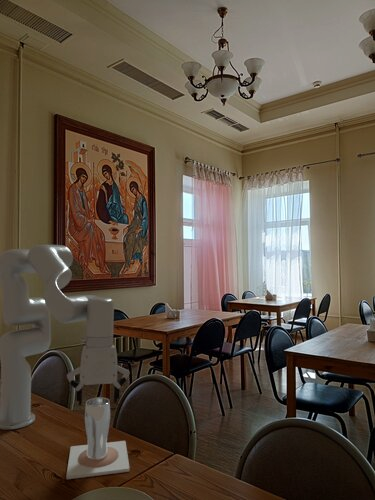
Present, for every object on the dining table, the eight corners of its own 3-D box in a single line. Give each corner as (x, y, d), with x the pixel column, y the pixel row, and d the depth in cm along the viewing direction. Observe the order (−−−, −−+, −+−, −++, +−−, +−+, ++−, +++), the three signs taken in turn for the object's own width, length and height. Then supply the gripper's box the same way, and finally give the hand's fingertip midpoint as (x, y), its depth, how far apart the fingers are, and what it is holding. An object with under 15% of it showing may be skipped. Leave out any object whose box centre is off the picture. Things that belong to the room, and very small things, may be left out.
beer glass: (79, 458, 104) (79, 403, 104) (95, 447, 110) (96, 395, 111) (99, 464, 101) (99, 407, 101) (114, 452, 107) (115, 399, 107)
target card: (70, 449, 111) (70, 445, 111) (125, 443, 115) (125, 439, 115) (66, 479, 96) (66, 474, 96) (129, 471, 99) (129, 467, 99)
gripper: (66, 345, 101) (64, 409, 100) (131, 343, 105) (129, 405, 104) (68, 339, 108) (67, 399, 108) (129, 338, 112) (127, 395, 112)
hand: (98, 402), depth 106 cm, fingers open, 9 cm apart
